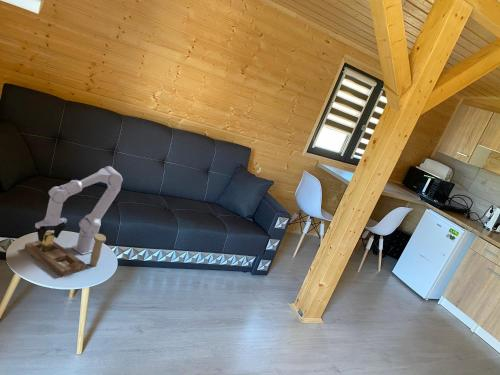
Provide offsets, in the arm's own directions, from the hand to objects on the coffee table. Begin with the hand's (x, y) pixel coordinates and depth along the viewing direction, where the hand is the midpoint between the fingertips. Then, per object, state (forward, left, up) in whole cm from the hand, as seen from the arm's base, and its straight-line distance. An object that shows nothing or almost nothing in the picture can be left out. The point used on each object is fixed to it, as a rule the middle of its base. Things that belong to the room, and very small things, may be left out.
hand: (48, 238), depth 175 cm
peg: (0, 0, -7) cm, 7 cm away
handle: (-12, +19, -8) cm, 23 cm away
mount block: (0, +7, -7) cm, 10 cm away
